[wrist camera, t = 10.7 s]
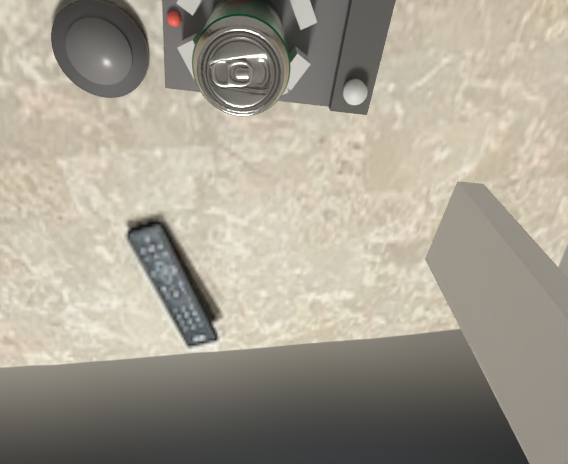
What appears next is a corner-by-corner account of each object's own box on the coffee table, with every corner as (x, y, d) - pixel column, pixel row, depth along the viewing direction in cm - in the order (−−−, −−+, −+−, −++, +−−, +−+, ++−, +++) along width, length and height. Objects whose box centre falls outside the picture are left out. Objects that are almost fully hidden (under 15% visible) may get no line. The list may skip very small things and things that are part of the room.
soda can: (280, 64, 32) (290, 124, 22) (214, 63, 32) (194, 123, 22) (282, -12, 29) (294, 18, 19) (208, -14, 29) (183, 16, 19)
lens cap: (63, 89, 37) (59, 93, 36) (46, -8, 33) (40, -7, 32) (151, 99, 38) (149, 103, 37) (146, 5, 34) (143, 7, 33)
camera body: (175, 70, 37) (159, 98, 31) (173, -69, 31) (151, -70, 25) (353, 91, 38) (370, 121, 32) (381, -37, 33) (410, -30, 27)
